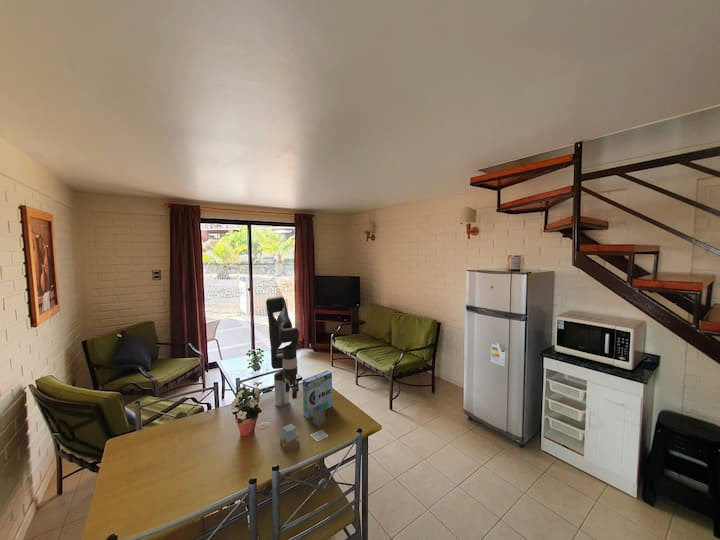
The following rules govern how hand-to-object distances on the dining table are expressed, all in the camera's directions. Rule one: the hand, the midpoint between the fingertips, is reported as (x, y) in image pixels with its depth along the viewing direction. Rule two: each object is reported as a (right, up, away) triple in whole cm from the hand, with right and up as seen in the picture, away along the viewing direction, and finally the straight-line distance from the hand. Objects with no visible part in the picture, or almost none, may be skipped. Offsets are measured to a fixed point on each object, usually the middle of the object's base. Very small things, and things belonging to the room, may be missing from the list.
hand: (291, 395), depth 152 cm
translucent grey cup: (+13, -23, +16) cm, 31 cm away
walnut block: (0, -25, -4) cm, 25 cm away
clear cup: (0, -21, -4) cm, 21 cm away
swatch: (+15, -24, +4) cm, 28 cm away
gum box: (+11, -23, +29) cm, 38 cm away
